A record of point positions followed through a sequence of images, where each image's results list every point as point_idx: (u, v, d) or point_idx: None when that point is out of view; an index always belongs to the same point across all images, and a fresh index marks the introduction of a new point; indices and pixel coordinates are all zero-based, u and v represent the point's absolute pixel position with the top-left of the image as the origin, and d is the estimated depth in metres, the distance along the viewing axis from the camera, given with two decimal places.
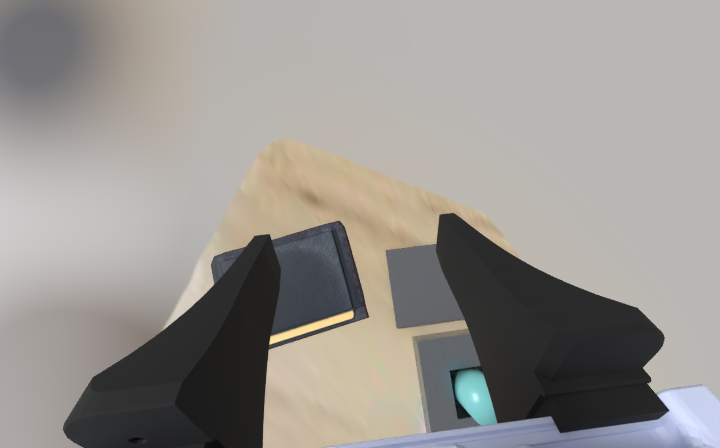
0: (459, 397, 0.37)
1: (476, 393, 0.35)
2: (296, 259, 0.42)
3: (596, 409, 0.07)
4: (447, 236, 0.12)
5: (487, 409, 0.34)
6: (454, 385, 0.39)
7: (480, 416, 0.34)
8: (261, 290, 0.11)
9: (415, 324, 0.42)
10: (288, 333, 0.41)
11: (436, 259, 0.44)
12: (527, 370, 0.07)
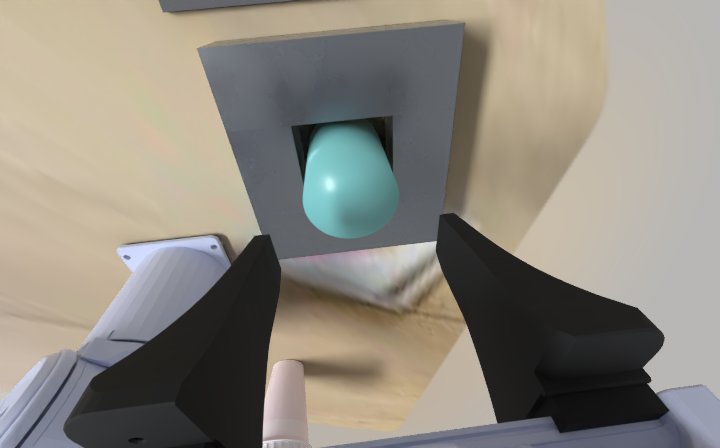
0: None
1: (322, 181, 0.15)
2: None
3: (596, 409, 0.07)
4: (447, 236, 0.12)
5: (345, 211, 0.16)
6: (307, 154, 0.19)
7: (328, 222, 0.16)
8: (261, 290, 0.11)
9: (213, 3, 0.15)
10: None
11: None
12: (527, 370, 0.07)
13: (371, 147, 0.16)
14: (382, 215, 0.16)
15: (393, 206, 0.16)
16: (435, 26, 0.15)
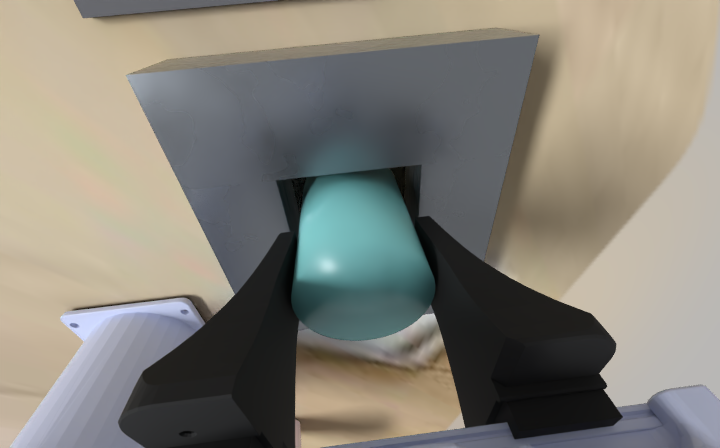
0: None
1: (320, 278, 0.10)
2: None
3: (550, 415, 0.06)
4: (421, 239, 0.12)
5: (355, 311, 0.11)
6: None
7: (329, 324, 0.11)
8: (290, 286, 0.11)
9: (158, 4, 0.10)
10: None
11: None
12: (485, 375, 0.07)
13: (393, 219, 0.10)
14: (408, 313, 0.11)
15: (425, 303, 0.11)
16: (494, 40, 0.10)
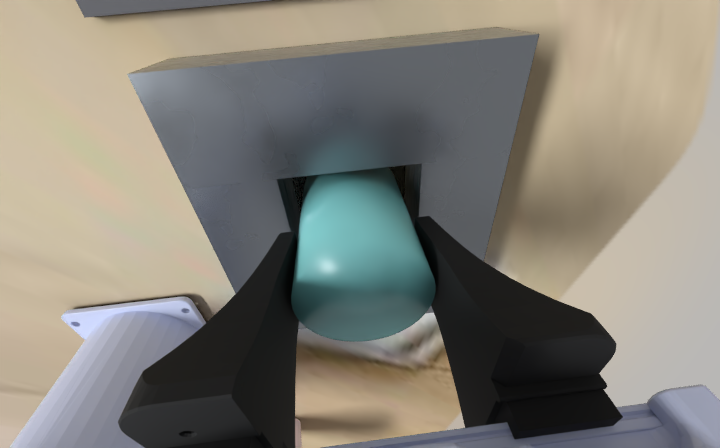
0: None
1: (320, 279, 0.10)
2: None
3: (550, 415, 0.06)
4: (421, 239, 0.12)
5: (355, 312, 0.11)
6: (301, 212, 0.14)
7: (329, 325, 0.11)
8: (290, 286, 0.11)
9: (159, 4, 0.10)
10: None
11: None
12: (485, 376, 0.07)
13: (394, 220, 0.10)
14: (409, 314, 0.11)
15: (425, 303, 0.11)
16: (494, 39, 0.10)
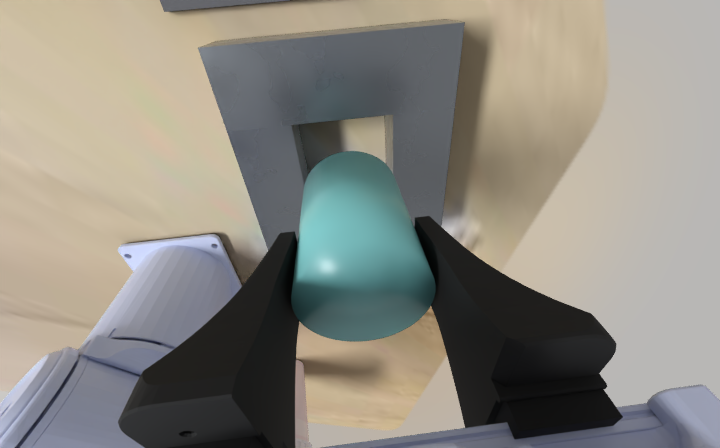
0: None
1: (320, 279, 0.10)
2: None
3: (550, 415, 0.06)
4: (421, 239, 0.12)
5: (355, 312, 0.11)
6: (301, 212, 0.14)
7: (329, 324, 0.11)
8: (290, 286, 0.11)
9: (214, 2, 0.15)
10: None
11: None
12: (486, 375, 0.07)
13: (394, 219, 0.10)
14: (408, 314, 0.11)
15: (425, 303, 0.11)
16: (435, 25, 0.15)
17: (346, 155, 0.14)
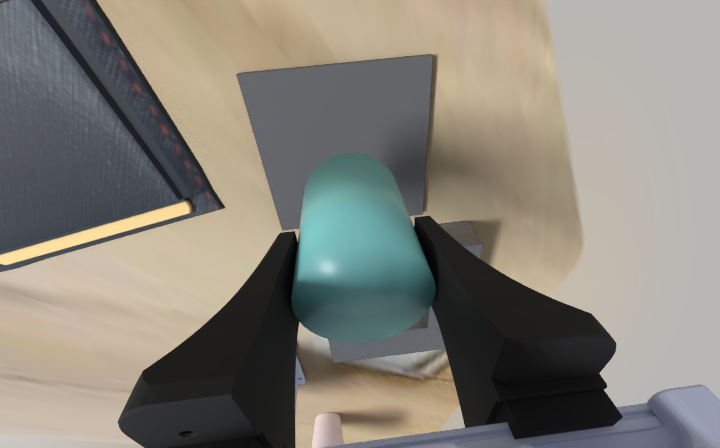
0: None
1: (319, 280, 0.10)
2: None
3: (550, 415, 0.06)
4: (421, 239, 0.12)
5: (355, 312, 0.11)
6: (301, 214, 0.14)
7: (330, 326, 0.11)
8: (290, 286, 0.11)
9: None
10: (70, 238, 0.22)
11: (367, 103, 0.18)
12: (485, 375, 0.07)
13: (392, 220, 0.10)
14: (409, 315, 0.11)
15: (426, 304, 0.11)
16: (464, 246, 0.22)
17: (345, 156, 0.14)
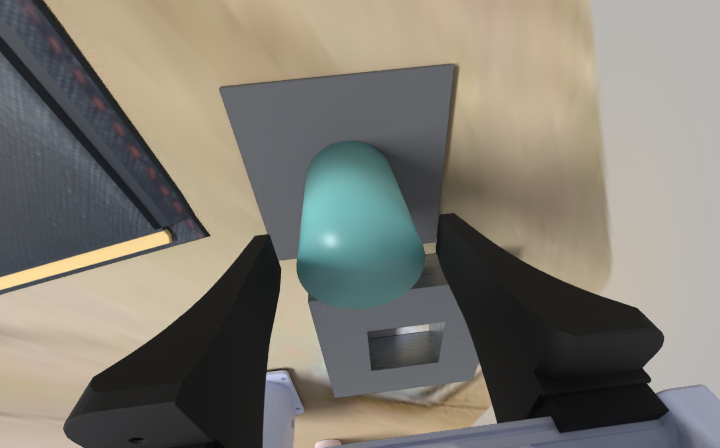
0: None
1: (322, 247, 0.11)
2: None
3: (596, 409, 0.07)
4: (447, 236, 0.12)
5: (354, 279, 0.12)
6: None
7: (331, 292, 0.12)
8: (261, 290, 0.11)
9: None
10: (33, 271, 0.19)
11: (375, 121, 0.15)
12: (527, 370, 0.07)
13: (387, 196, 0.12)
14: (402, 282, 0.12)
15: (417, 271, 0.12)
16: None
17: (344, 143, 0.15)
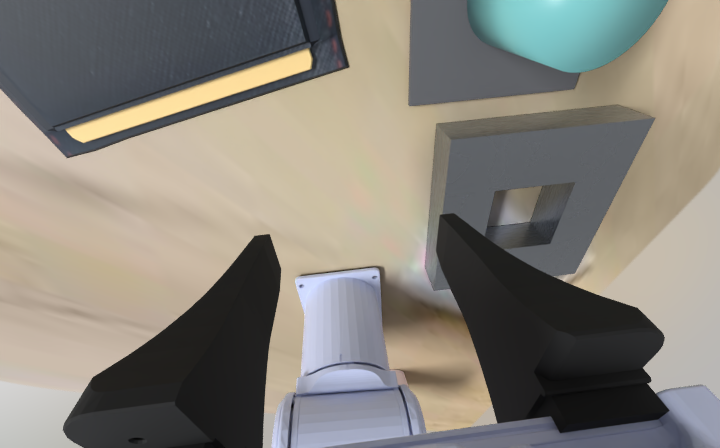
0: None
1: None
2: None
3: (596, 409, 0.07)
4: (447, 236, 0.12)
5: (589, 16, 0.11)
6: None
7: (556, 37, 0.12)
8: (261, 290, 0.11)
9: (449, 99, 0.19)
10: (164, 103, 0.18)
11: None
12: (527, 370, 0.07)
13: None
14: (631, 31, 0.12)
15: (654, 14, 0.11)
16: (632, 120, 0.19)
17: None
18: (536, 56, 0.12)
